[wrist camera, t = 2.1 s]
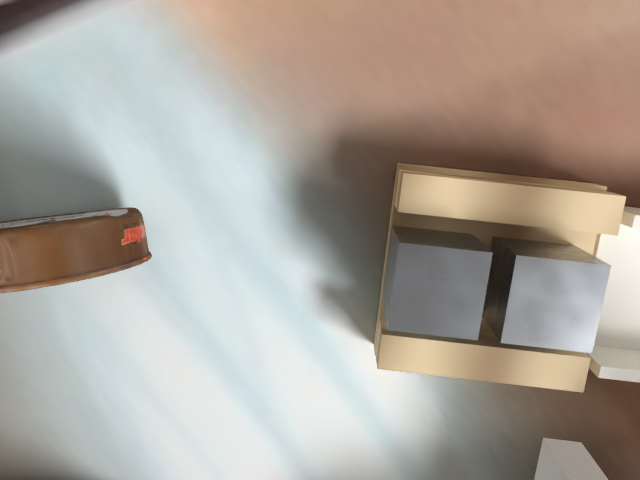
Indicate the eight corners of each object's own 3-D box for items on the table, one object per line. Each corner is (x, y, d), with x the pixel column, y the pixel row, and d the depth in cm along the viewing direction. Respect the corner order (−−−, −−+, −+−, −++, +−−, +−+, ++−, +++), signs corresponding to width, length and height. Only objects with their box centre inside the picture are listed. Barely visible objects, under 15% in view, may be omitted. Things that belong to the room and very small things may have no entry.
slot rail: (373, 344, 31) (376, 372, 27) (397, 162, 29) (403, 168, 25) (556, 365, 30) (582, 396, 27) (593, 183, 28) (627, 191, 25)
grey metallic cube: (382, 301, 29) (387, 330, 25) (392, 225, 28) (398, 242, 24) (460, 310, 28) (477, 340, 25) (472, 233, 28) (492, 252, 24)
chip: (479, 312, 28) (500, 343, 25) (492, 236, 28) (516, 255, 24) (558, 321, 28) (592, 353, 24) (573, 244, 27) (611, 265, 24)
